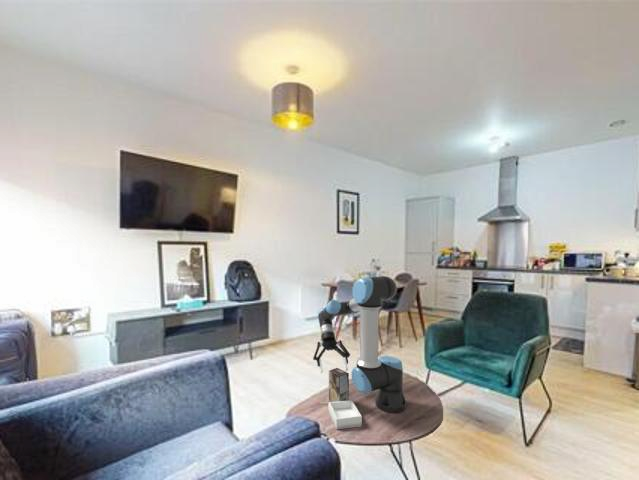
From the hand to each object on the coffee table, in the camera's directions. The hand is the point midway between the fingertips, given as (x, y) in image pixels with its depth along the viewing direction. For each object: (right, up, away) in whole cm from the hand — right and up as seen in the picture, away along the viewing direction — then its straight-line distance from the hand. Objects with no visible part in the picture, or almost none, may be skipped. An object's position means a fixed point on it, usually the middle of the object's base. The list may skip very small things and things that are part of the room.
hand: (334, 371), depth 168 cm
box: (+4, -14, -20) cm, 25 cm away
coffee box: (+2, -14, -7) cm, 16 cm away
